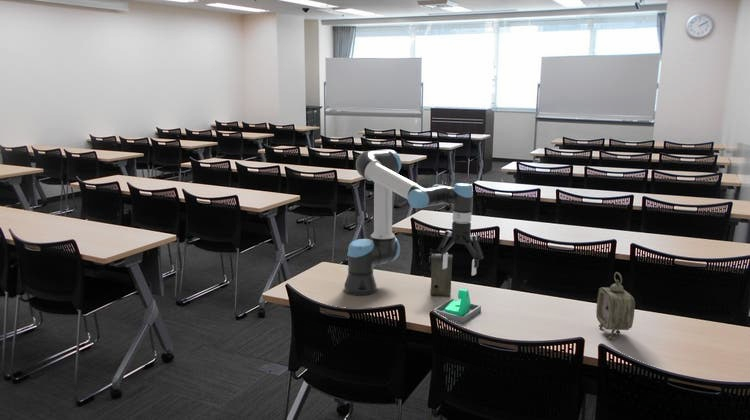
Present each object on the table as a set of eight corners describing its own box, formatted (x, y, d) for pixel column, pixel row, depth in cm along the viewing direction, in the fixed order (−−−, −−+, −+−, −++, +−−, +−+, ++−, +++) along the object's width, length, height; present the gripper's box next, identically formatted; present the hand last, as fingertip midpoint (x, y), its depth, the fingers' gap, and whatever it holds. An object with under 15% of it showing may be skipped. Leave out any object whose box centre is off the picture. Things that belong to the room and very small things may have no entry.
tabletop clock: (594, 326, 227) (600, 266, 222) (617, 326, 227) (623, 267, 222) (607, 341, 213) (614, 278, 208) (632, 342, 213) (639, 279, 207)
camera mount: (453, 305, 245) (454, 283, 242) (470, 308, 241) (471, 285, 239) (444, 315, 234) (445, 291, 232) (461, 318, 231) (463, 294, 229)
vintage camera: (450, 287, 271) (451, 246, 267) (451, 297, 256) (452, 254, 252) (430, 286, 272) (430, 246, 268) (430, 296, 256) (430, 254, 253)
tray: (432, 315, 235) (433, 309, 235) (451, 303, 248) (451, 298, 248) (463, 323, 227) (463, 317, 227) (480, 311, 240) (481, 305, 240)
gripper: (430, 218, 234) (428, 267, 238) (485, 227, 219) (482, 279, 224) (439, 215, 239) (437, 263, 244) (493, 224, 225) (490, 275, 230)
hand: (459, 271), depth 234 cm, fingers open, 13 cm apart
